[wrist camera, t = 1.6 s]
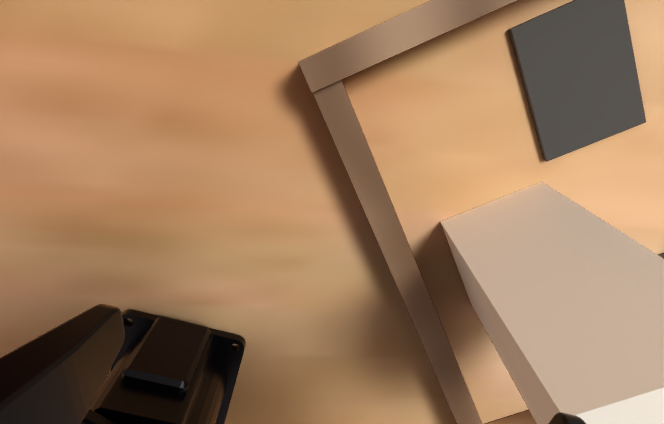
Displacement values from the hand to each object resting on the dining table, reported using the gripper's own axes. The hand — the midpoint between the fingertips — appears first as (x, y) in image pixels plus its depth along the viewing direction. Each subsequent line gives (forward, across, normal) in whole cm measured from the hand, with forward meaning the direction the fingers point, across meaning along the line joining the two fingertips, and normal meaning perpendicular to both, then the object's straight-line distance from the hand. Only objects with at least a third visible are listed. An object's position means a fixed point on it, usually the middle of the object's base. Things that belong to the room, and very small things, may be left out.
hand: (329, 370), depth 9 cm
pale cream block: (+13, -7, +4) cm, 15 cm away
